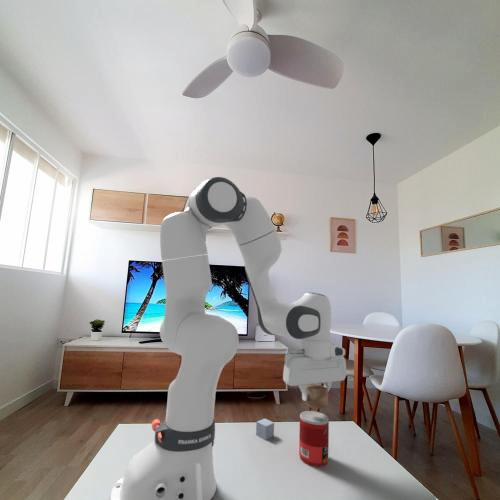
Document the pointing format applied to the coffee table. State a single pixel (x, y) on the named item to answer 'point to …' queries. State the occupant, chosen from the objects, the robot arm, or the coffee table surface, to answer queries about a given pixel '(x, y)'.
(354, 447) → the coffee table surface
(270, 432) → the slate block
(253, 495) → the coffee table surface
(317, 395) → the tan cube
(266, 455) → the coffee table surface
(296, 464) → the coffee table surface
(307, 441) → the canned food
